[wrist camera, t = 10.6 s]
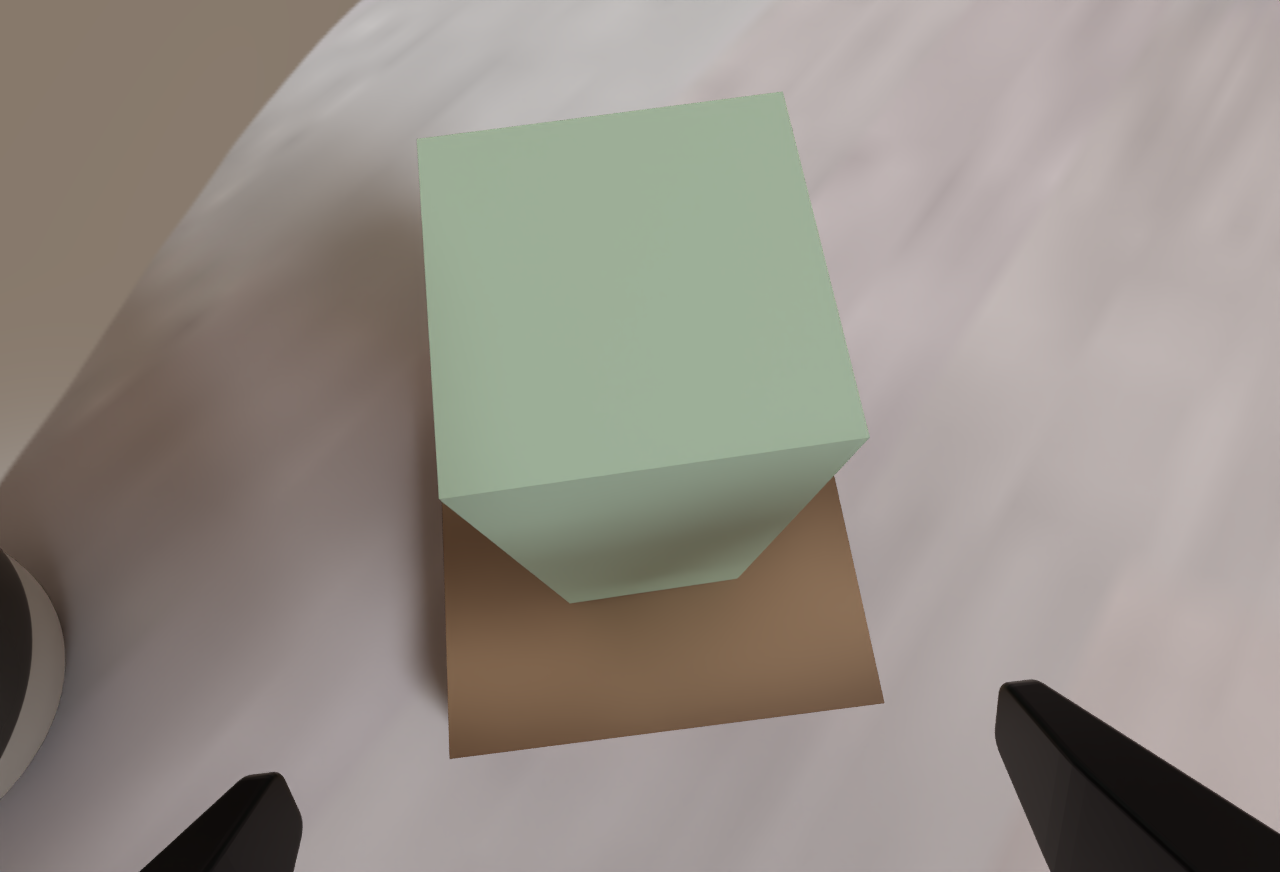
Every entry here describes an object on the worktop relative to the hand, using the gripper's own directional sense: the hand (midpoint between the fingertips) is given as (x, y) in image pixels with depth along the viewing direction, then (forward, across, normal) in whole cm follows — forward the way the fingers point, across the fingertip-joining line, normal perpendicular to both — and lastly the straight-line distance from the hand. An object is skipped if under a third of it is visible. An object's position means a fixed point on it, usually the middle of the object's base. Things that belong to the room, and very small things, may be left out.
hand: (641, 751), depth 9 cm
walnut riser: (+13, 0, +6) cm, 14 cm away
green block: (+11, 0, +3) cm, 11 cm away
